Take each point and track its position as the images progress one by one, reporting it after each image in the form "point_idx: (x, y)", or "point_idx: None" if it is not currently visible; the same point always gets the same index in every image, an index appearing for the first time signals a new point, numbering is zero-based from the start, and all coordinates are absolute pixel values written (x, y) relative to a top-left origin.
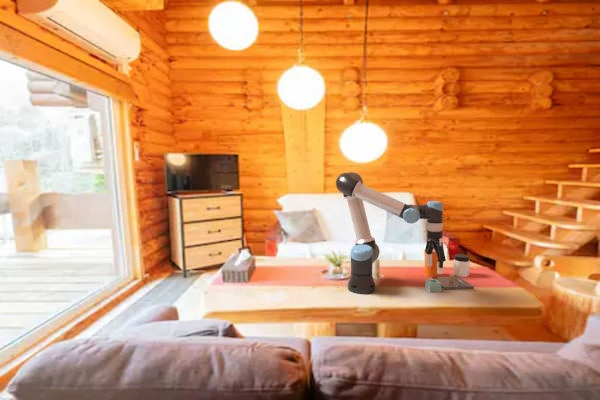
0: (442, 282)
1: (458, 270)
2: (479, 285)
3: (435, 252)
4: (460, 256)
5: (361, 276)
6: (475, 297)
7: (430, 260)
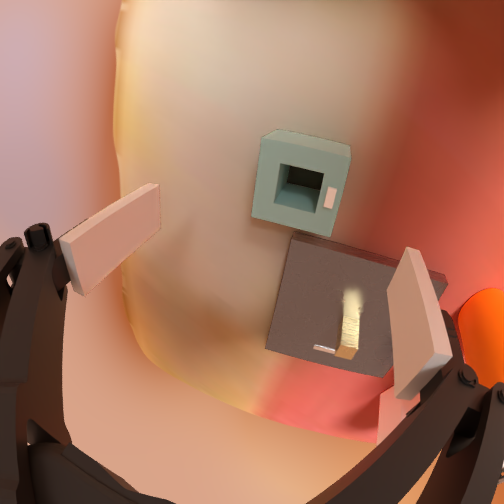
0: (358, 278)
1: (401, 402)
2: (296, 375)
3: None
4: None
5: None
6: (189, 285)
7: (399, 319)
